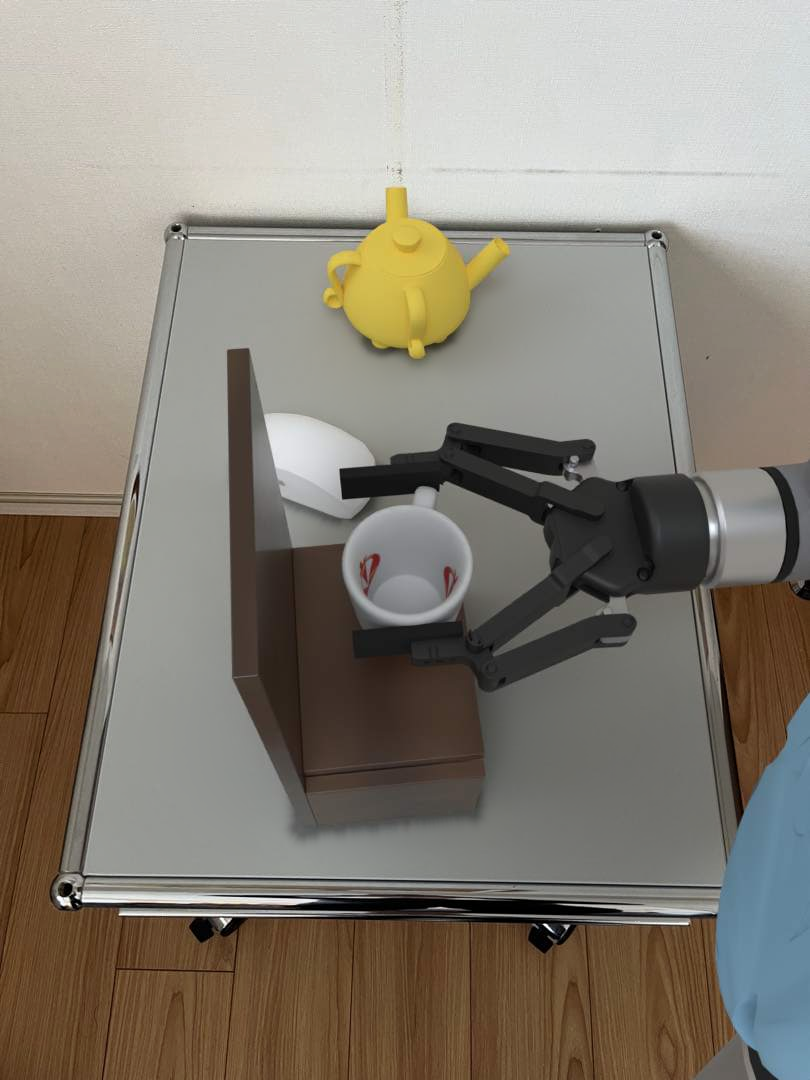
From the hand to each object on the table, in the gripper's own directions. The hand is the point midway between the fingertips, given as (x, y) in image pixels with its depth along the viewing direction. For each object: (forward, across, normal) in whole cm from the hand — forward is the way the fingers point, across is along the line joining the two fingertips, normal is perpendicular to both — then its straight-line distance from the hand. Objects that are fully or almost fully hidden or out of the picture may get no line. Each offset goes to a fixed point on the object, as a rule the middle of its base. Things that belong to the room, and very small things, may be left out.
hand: (346, 561), depth 58 cm
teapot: (-9, +38, -21) cm, 44 cm away
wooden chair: (-2, -3, -21) cm, 21 cm away
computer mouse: (+3, +20, -21) cm, 29 cm away
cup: (-4, 0, -6) cm, 7 cm away
